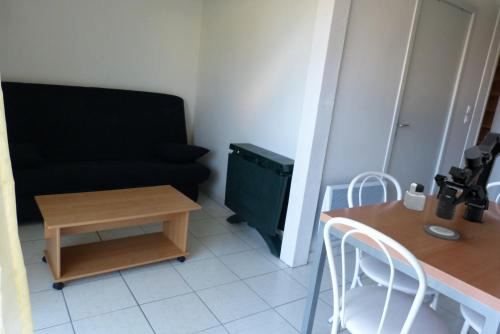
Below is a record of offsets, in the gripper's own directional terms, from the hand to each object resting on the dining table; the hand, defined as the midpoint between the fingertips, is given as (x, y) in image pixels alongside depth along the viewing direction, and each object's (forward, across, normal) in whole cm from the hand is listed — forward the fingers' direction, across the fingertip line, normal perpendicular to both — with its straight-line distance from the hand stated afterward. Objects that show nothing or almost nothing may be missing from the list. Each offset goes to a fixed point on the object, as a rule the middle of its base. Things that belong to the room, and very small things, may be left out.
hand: (445, 201), depth 143 cm
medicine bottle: (-3, -26, +22) cm, 34 cm away
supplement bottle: (+4, 0, +6) cm, 7 cm away
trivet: (+9, 0, +10) cm, 13 cm away
